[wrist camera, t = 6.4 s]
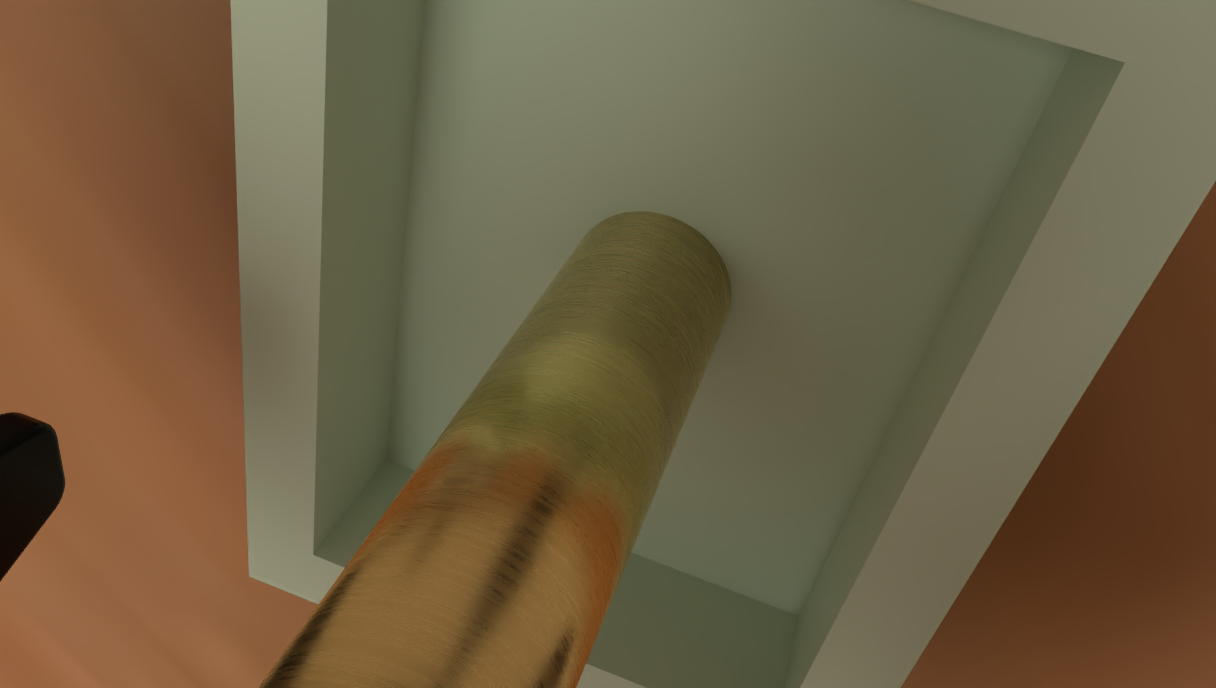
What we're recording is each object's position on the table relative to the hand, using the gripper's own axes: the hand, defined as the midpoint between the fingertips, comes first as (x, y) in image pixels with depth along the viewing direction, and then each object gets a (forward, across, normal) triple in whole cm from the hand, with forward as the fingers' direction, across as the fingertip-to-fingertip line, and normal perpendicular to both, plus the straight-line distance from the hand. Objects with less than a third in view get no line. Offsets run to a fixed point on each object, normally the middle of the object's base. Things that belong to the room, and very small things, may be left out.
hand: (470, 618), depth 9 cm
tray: (+7, 0, 0) cm, 7 cm away
